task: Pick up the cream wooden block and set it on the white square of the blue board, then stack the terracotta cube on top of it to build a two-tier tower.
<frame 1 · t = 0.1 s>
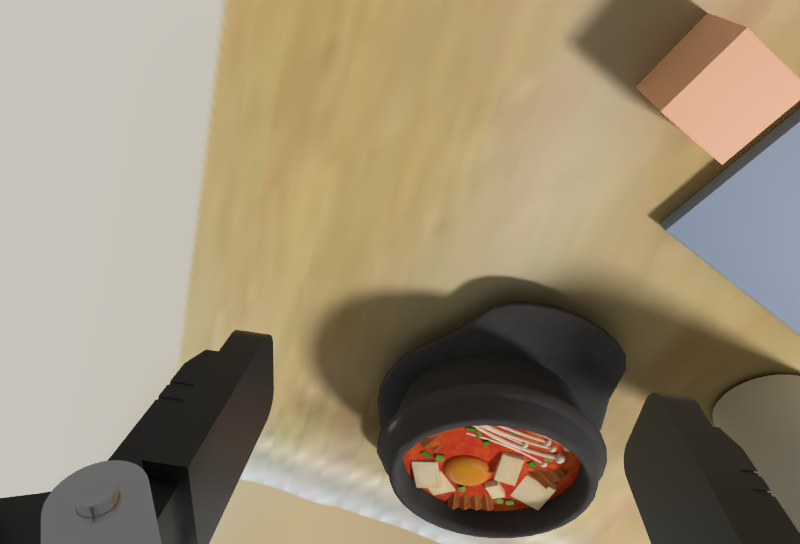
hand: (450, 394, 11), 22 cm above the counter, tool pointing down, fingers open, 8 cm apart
terracotta cube: (697, 77, 27), on the counter
travel mug: (764, 404, 40), on the counter
casserole: (486, 395, 43), on the counter
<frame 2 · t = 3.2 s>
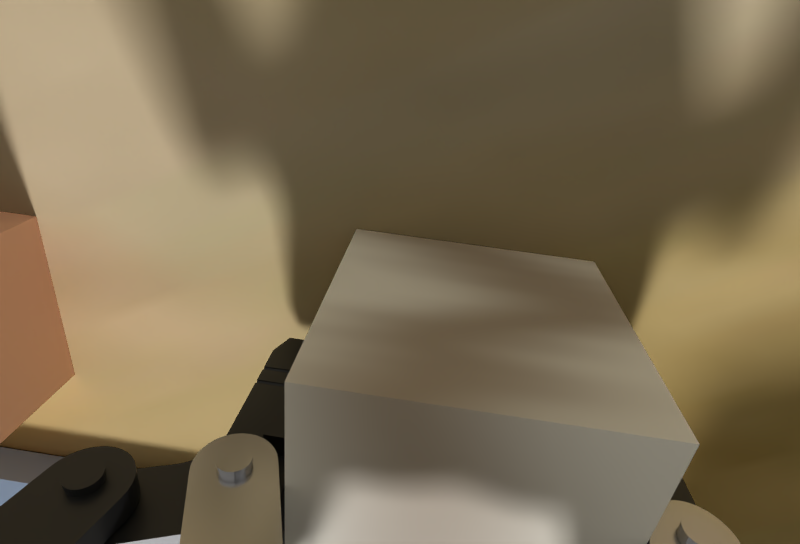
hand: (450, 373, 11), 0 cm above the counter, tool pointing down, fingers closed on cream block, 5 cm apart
cream block: (452, 359, 12), on the counter, touching gripper
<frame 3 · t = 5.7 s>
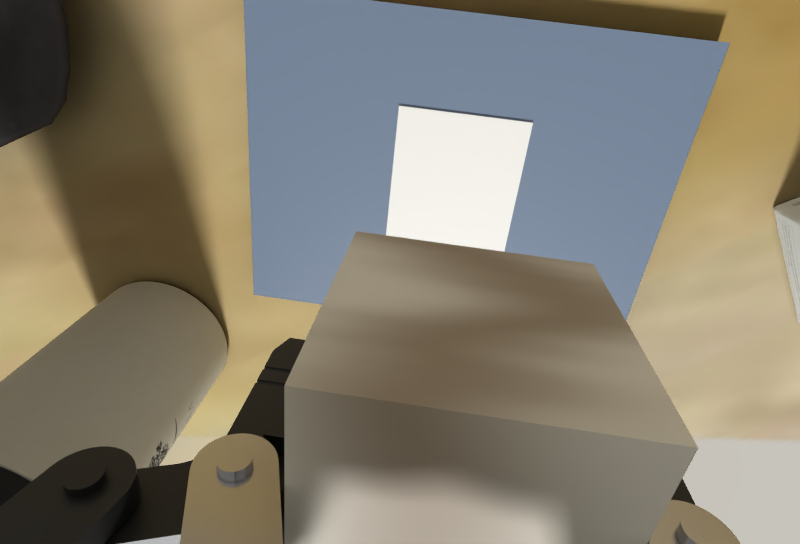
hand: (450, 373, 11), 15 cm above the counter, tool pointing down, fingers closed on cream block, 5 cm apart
cream block: (451, 361, 12), point 15 cm above the counter, touching gripper
blue board: (453, 183, 25), on the counter
travel mug: (168, 333, 31), on the counter
when the fingers open (3 cm above the counter, at t = 8.3 s): cream block drops 1 cm, resting on blue board.
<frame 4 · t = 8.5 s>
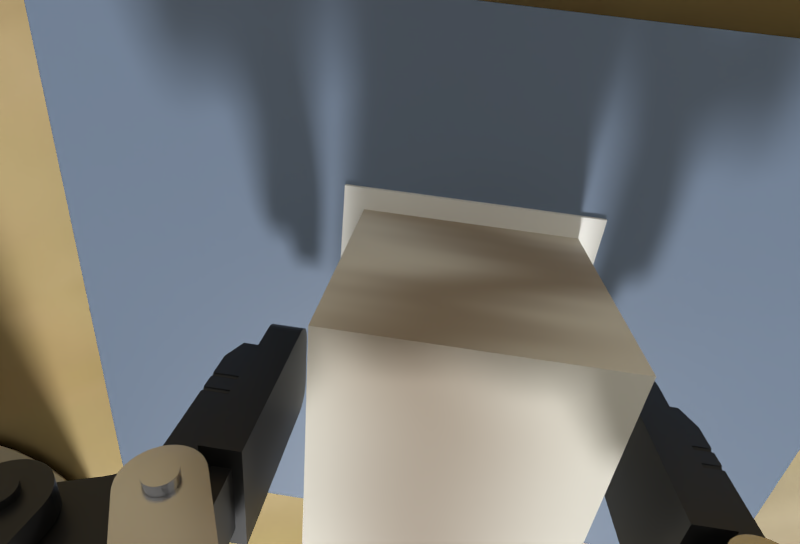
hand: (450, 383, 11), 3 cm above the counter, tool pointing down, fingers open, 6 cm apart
cream block: (450, 330, 13), point 1 cm above the counter, touching blue board
blue board: (451, 308, 14), on the counter
travel mug: (14, 500, 20), on the counter
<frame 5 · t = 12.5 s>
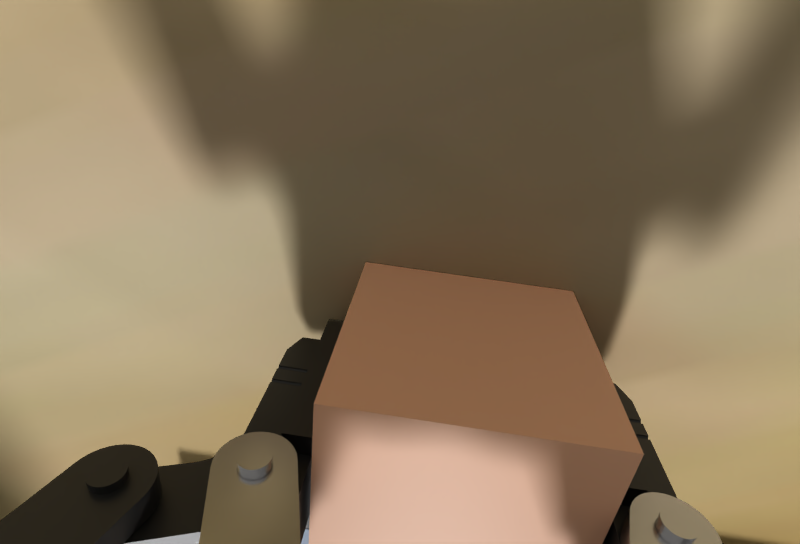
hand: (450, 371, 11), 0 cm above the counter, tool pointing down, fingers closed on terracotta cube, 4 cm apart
terracotta cube: (452, 359, 12), on the counter, touching gripper
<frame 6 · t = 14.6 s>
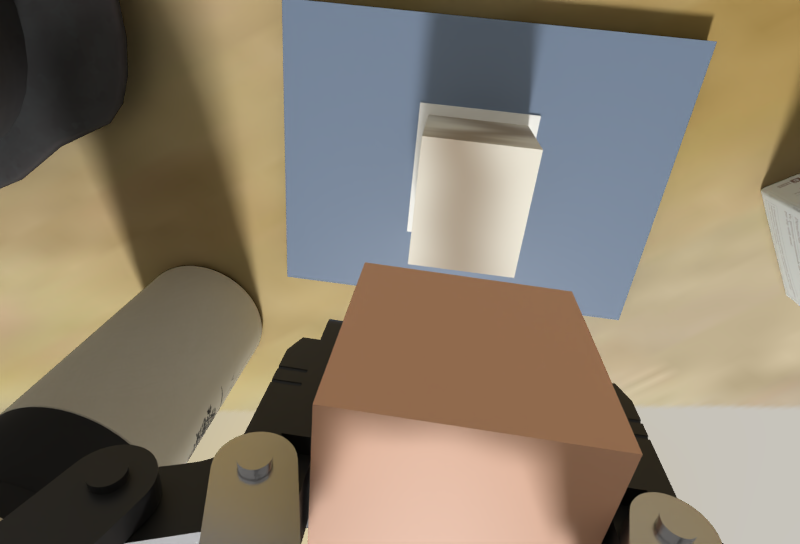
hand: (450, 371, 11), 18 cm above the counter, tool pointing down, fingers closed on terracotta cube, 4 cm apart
cream block: (468, 177, 26), point 1 cm above the counter, touching blue board
blue board: (469, 171, 27), on the counter
terracotta cube: (451, 360, 12), point 17 cm above the counter, touching gripper
travel mug: (207, 314, 34), on the counter
when the fingers open (7 cm above the counter, at t = 16.9 s): terracotta cube stays where it is, resting on cream block.
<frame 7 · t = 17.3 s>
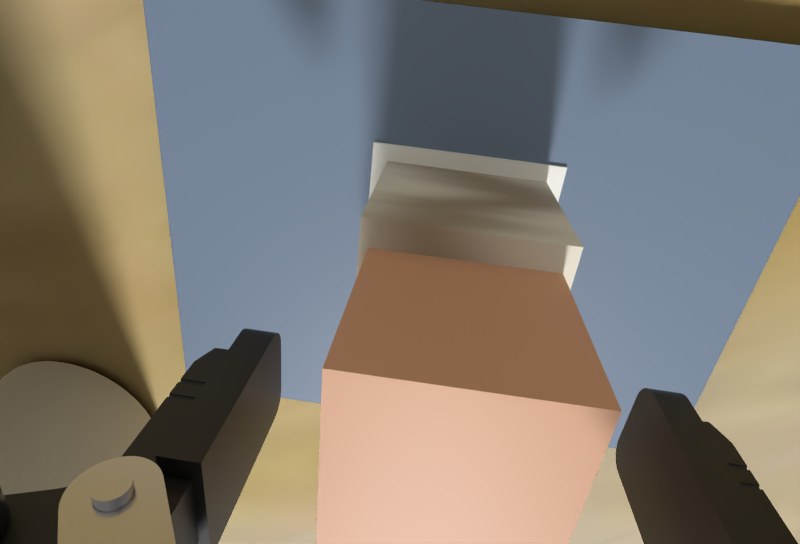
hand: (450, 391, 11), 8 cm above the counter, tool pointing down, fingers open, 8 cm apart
cream block: (451, 257, 17), point 1 cm above the counter, touching blue board, terracotta cube
blue board: (452, 243, 18), on the counter
terracotta cube: (450, 340, 12), point 6 cm above the counter, touching cream block
travel mug: (87, 420, 24), on the counter
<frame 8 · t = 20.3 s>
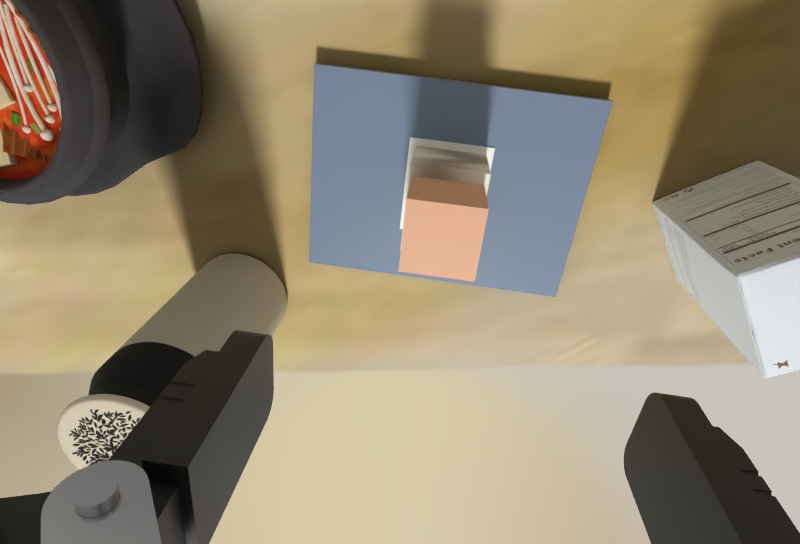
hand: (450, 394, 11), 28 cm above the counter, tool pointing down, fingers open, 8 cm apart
cream block: (444, 190, 37), point 1 cm above the counter, touching blue board, terracotta cube
blue board: (445, 186, 37), on the counter
supplement box: (712, 220, 37), on the counter
terracotta cube: (443, 213, 32), point 6 cm above the counter, touching cream block
travel mug: (244, 291, 44), on the counter
casserole: (51, 65, 37), on the counter
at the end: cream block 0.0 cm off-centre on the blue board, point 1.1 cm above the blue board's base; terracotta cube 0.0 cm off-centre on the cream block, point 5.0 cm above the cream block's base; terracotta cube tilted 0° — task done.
